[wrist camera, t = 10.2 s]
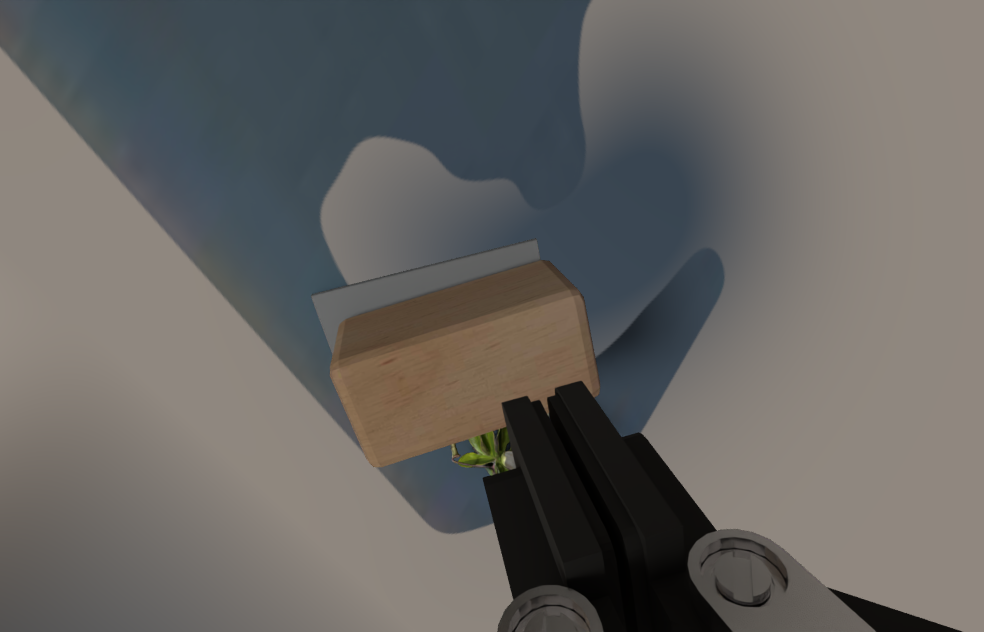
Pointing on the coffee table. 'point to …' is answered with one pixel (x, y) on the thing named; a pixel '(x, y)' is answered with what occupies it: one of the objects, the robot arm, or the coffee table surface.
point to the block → (460, 360)
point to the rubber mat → (416, 284)
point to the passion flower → (488, 452)
